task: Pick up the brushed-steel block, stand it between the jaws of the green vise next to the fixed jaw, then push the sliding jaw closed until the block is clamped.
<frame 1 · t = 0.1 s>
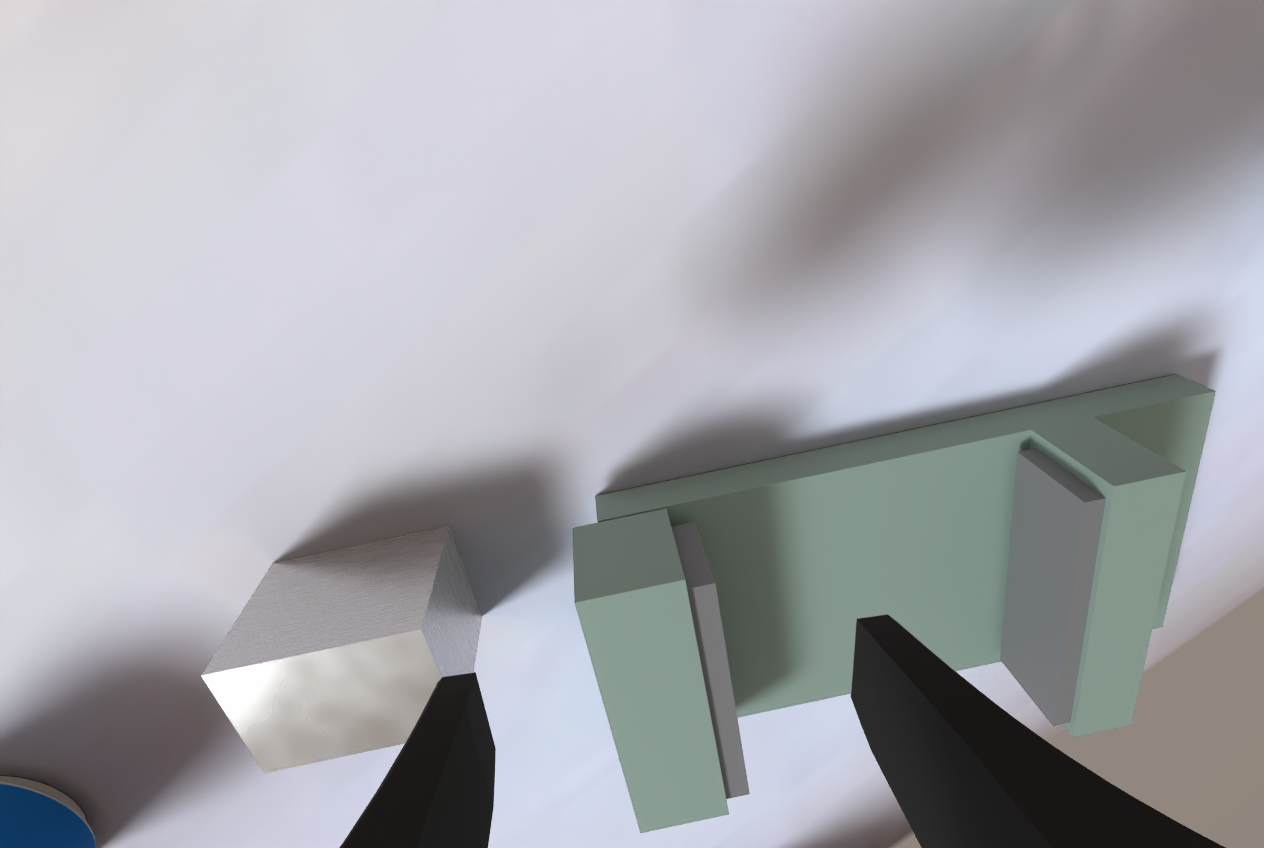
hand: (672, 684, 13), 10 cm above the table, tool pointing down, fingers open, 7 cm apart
beverage can: (19, 813, 26), on the table
sliding jaw: (665, 672, 21), point 3 cm above the table, slide at 0.0 cm
vise: (782, 575, 25), on the table
steel block: (382, 589, 23), on the table
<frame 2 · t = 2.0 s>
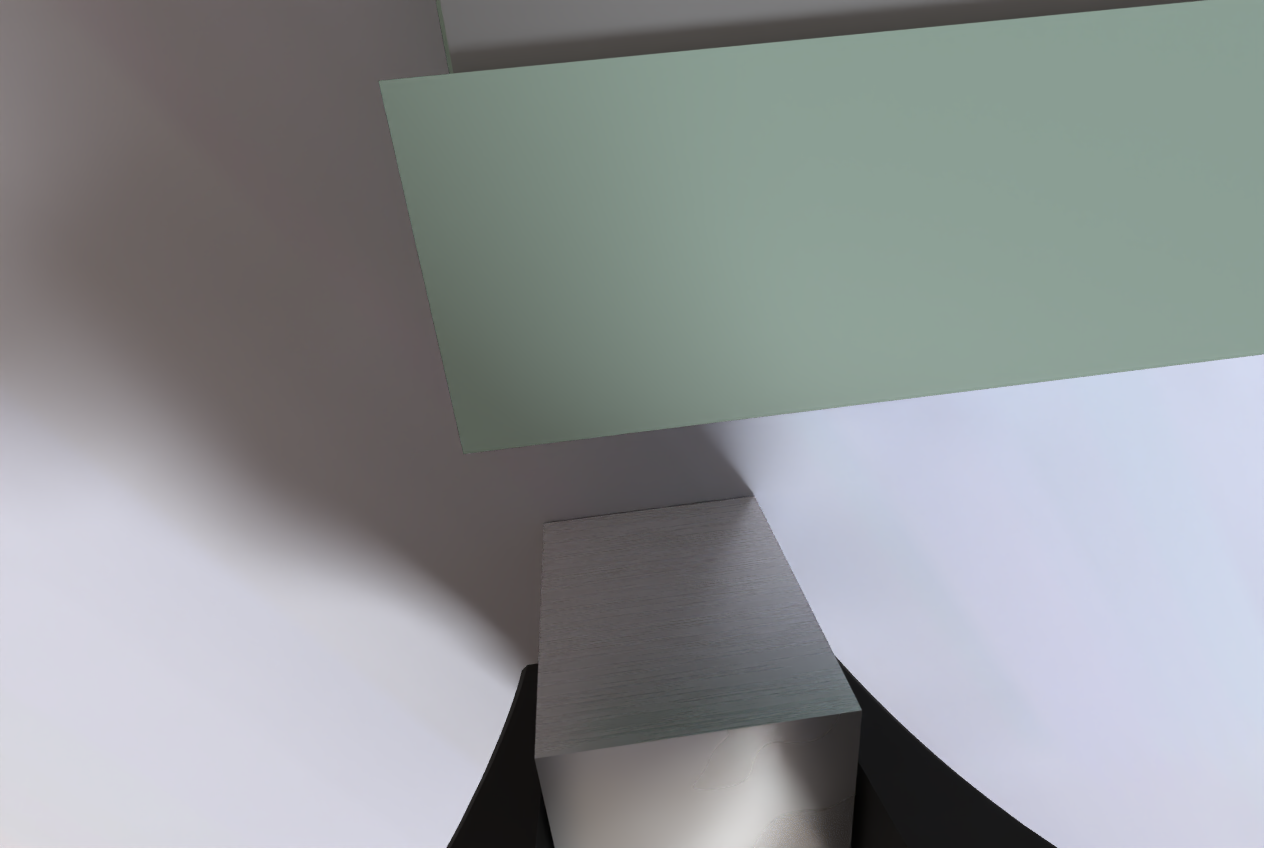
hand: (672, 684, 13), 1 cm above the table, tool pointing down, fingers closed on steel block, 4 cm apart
sliding jaw: (927, 157, 7), point 3 cm above the table, slide at 0.0 cm
steel block: (661, 630, 14), on the table, touching gripper
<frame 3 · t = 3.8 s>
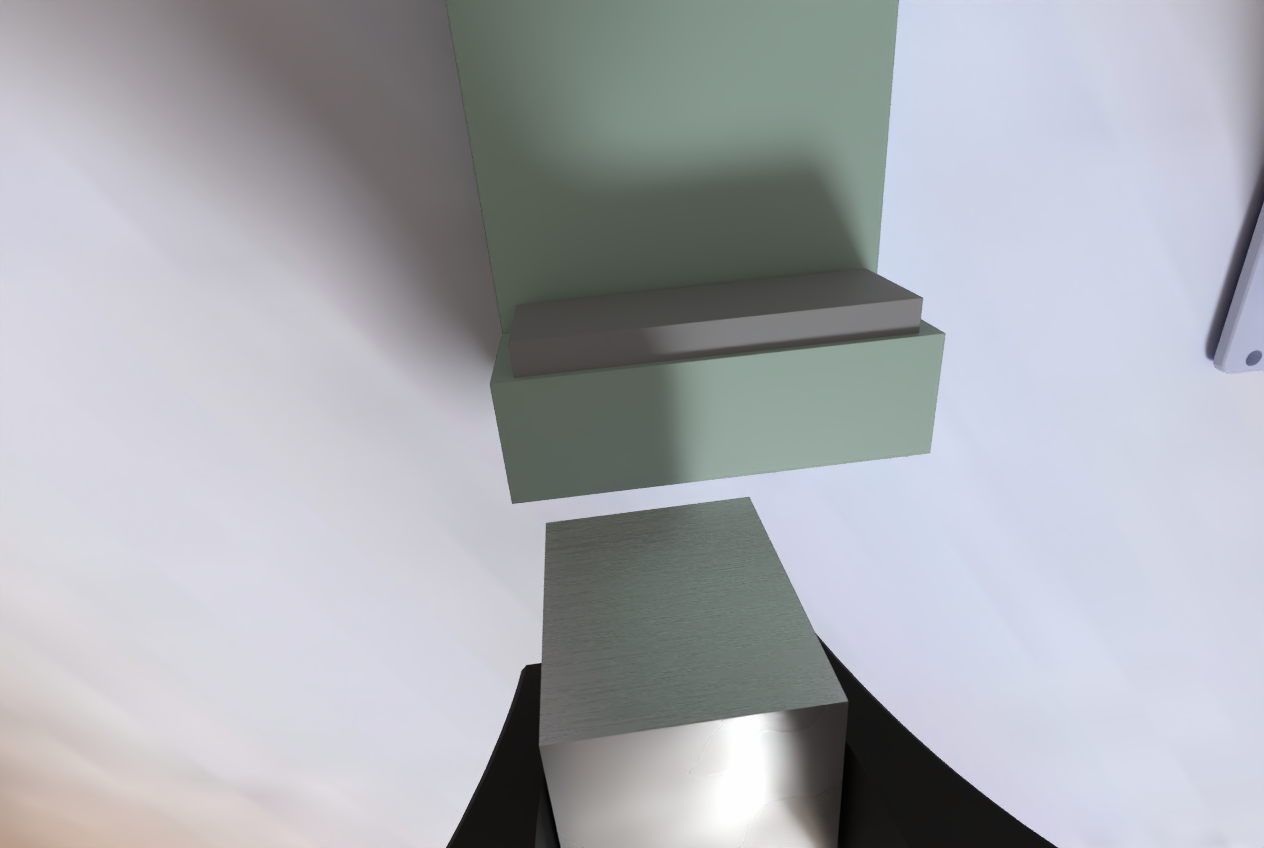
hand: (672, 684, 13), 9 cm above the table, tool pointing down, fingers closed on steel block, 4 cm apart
sliding jaw: (707, 376, 16), point 3 cm above the table, slide at 0.0 cm
vise: (675, 155, 17), on the table
steel block: (659, 627, 14), point 8 cm above the table, touching gripper
when the fingers open (4 cm above the table, at t = 6.0 s): steel block stays where it is, resting on vise.
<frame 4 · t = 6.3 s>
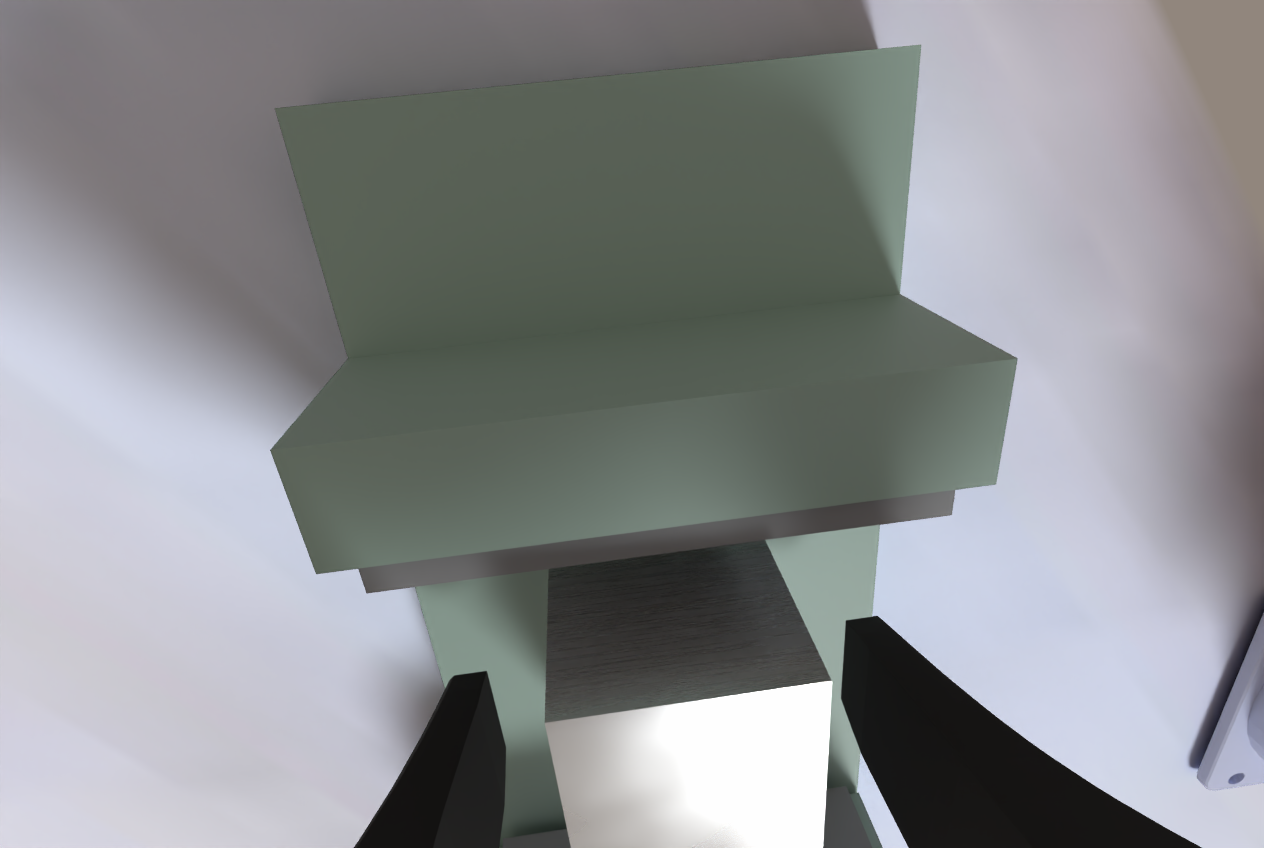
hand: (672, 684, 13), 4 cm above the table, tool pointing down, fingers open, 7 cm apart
vise: (658, 671, 18), on the table
steel block: (658, 618, 15), point 1 cm above the table, touching vise
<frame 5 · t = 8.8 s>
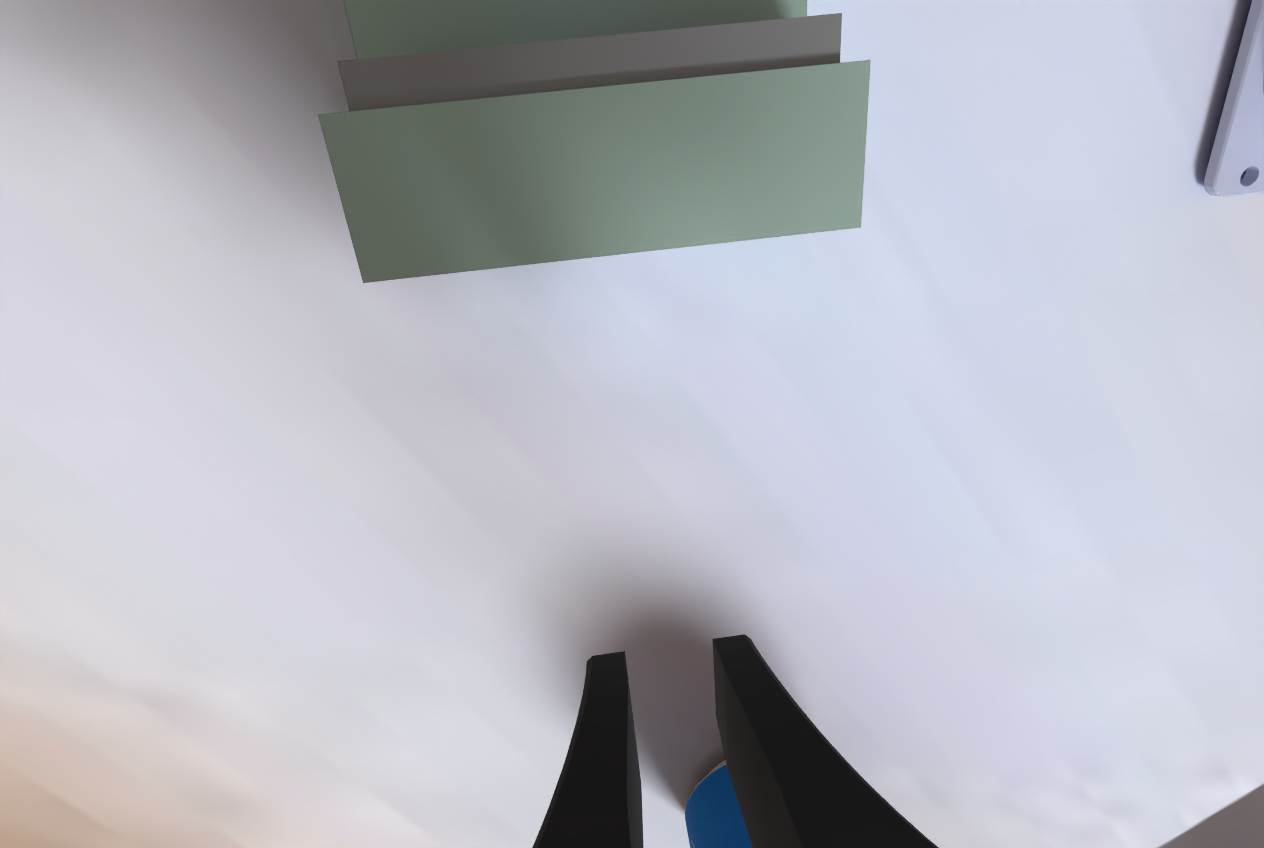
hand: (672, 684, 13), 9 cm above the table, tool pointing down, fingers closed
beverage can: (755, 783, 29), on the table
sliding jaw: (601, 147, 14), point 3 cm above the table, slide at 0.0 cm
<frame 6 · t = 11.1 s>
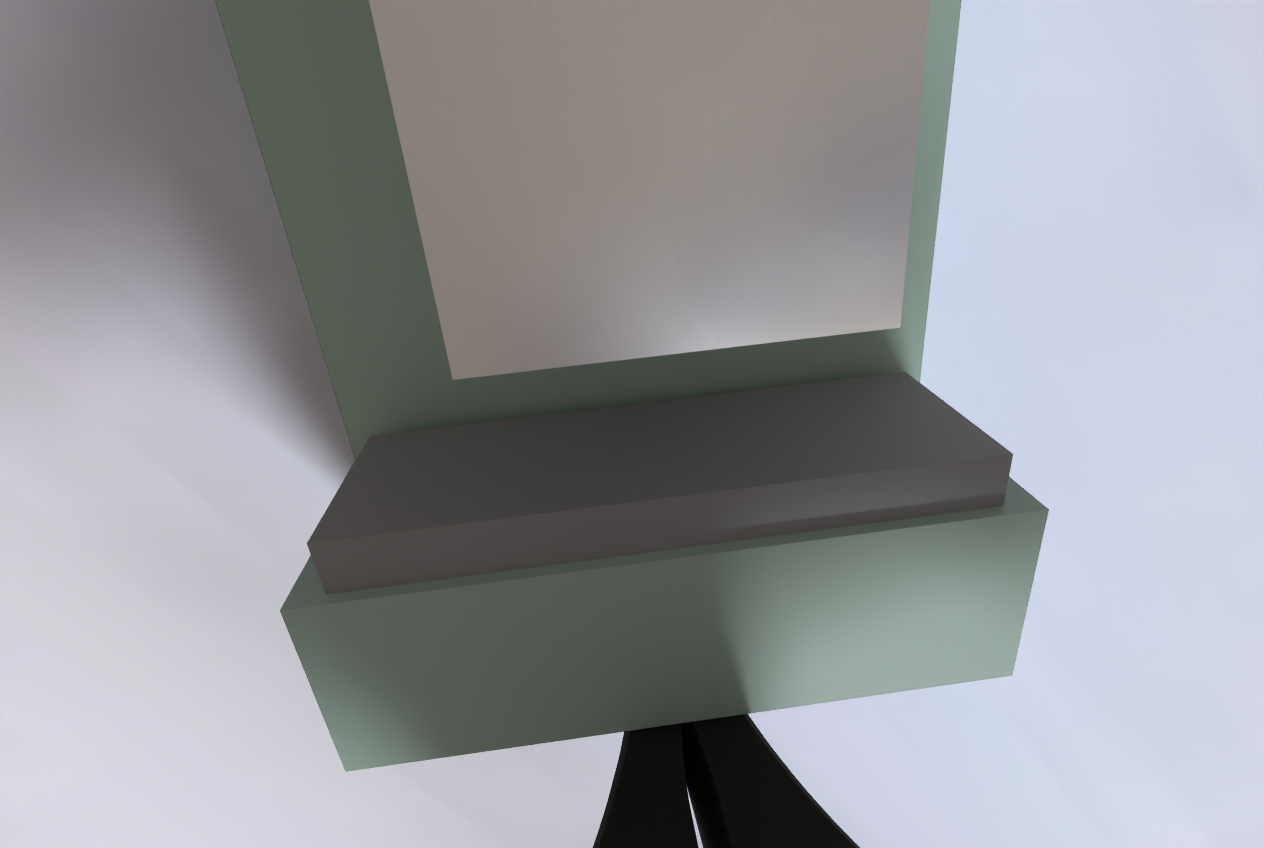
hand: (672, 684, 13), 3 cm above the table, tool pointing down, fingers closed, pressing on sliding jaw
sliding jaw: (662, 547, 11), point 3 cm above the table, slide at 0.7 cm, touching gripper
vise: (620, 239, 12), on the table
steel block: (608, 24, 9), point 1 cm above the table, touching vise
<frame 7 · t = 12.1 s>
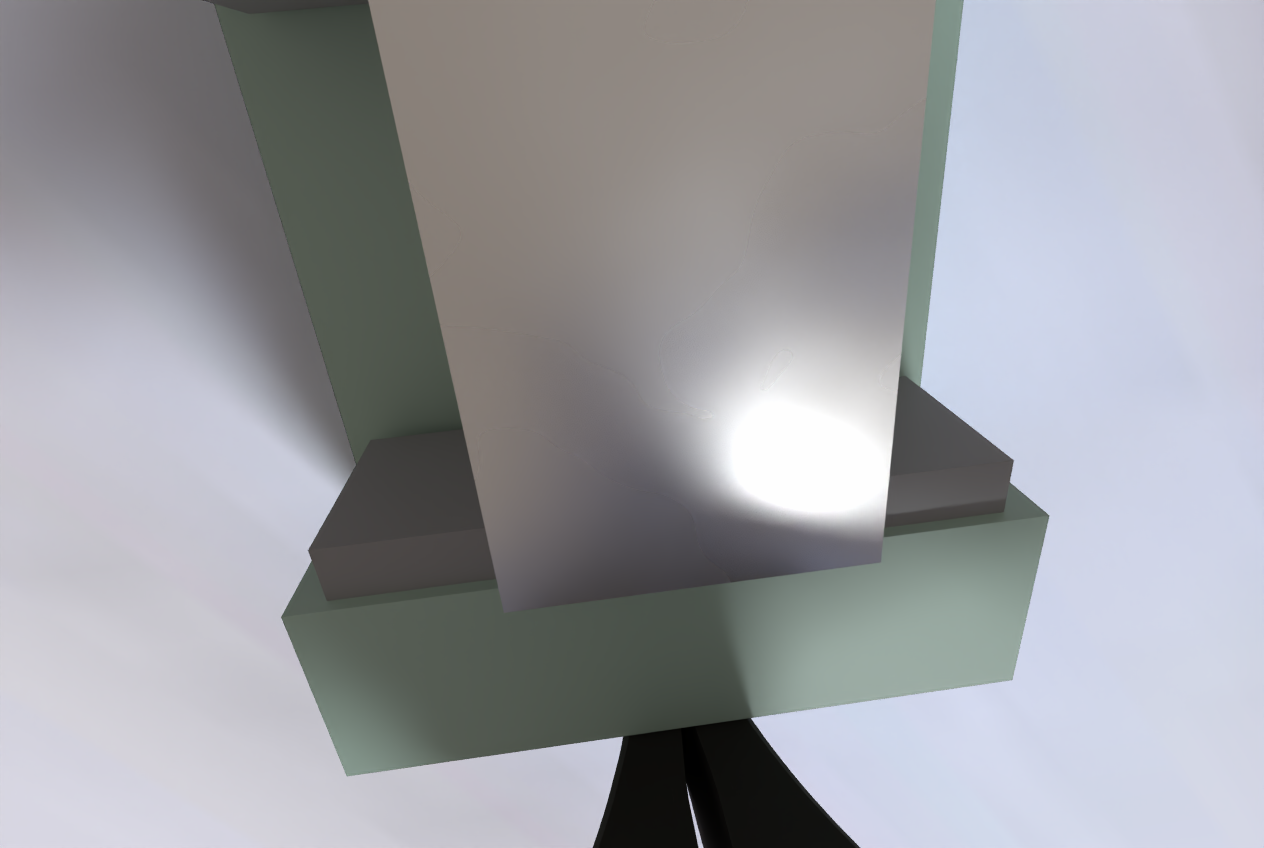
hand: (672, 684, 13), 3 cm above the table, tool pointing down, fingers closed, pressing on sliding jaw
sliding jaw: (663, 552, 11), point 3 cm above the table, slide at 4.4 cm, touching gripper, steel block
vise: (638, 432, 13), on the table
steel block: (626, 218, 10), point 2 cm above the table, touching sliding jaw, vise
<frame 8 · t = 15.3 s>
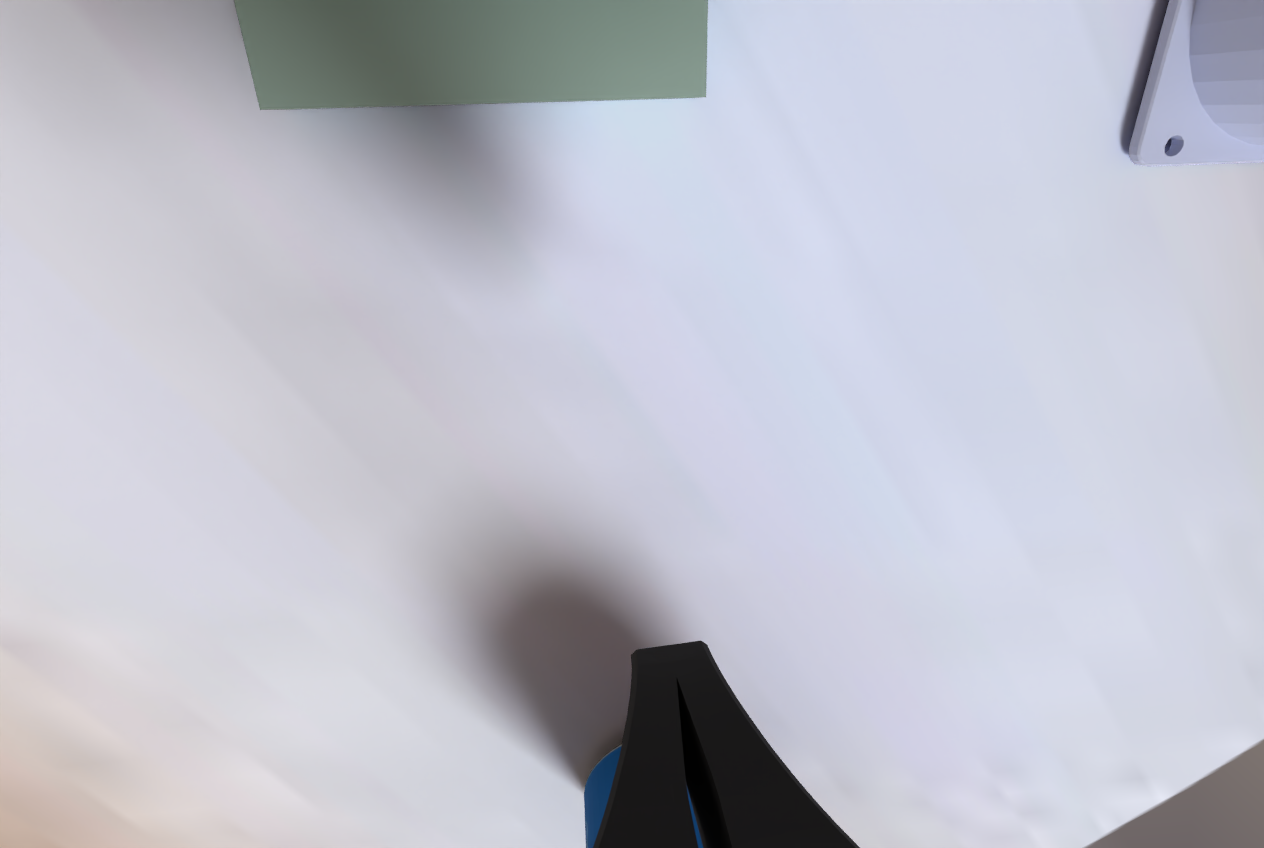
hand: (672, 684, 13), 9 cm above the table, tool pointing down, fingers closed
beverage can: (661, 766, 28), on the table
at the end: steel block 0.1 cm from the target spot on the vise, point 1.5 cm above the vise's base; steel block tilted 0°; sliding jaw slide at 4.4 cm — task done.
